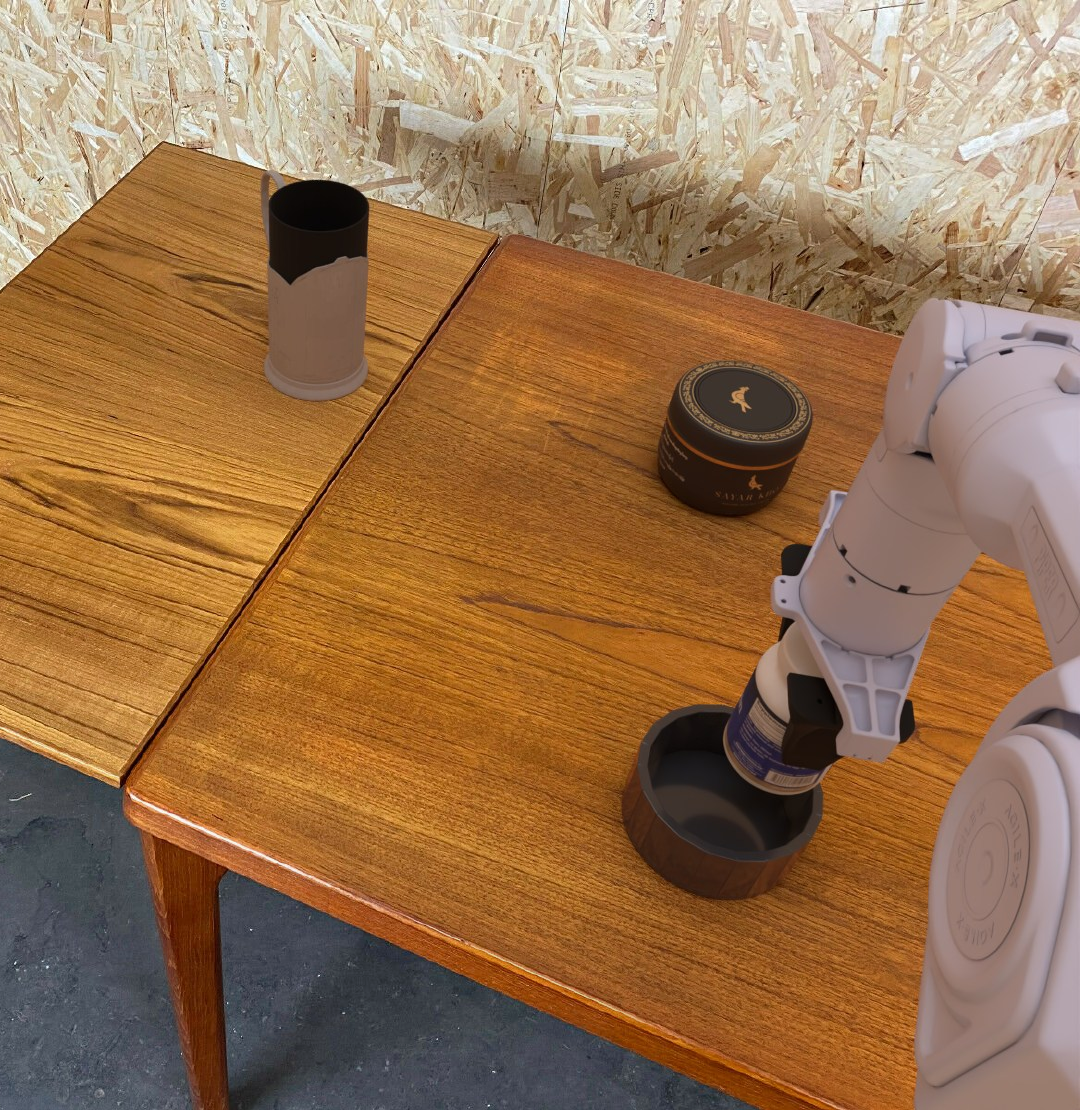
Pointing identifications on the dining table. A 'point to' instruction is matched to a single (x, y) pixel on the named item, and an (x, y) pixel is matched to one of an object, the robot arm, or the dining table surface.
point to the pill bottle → (770, 720)
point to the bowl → (711, 811)
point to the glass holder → (315, 287)
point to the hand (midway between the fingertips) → (798, 709)
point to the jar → (732, 436)
